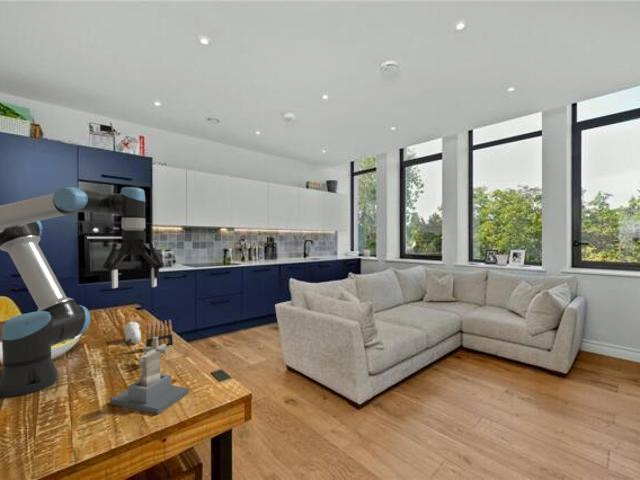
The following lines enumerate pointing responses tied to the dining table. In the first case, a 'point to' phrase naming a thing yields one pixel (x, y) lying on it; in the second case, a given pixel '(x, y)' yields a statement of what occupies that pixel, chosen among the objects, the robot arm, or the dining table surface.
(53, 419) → the dining table surface
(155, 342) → the pipe connector
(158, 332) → the ammunition clip
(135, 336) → the penguin figurine
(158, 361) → the slat
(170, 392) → the rectangular socket base
